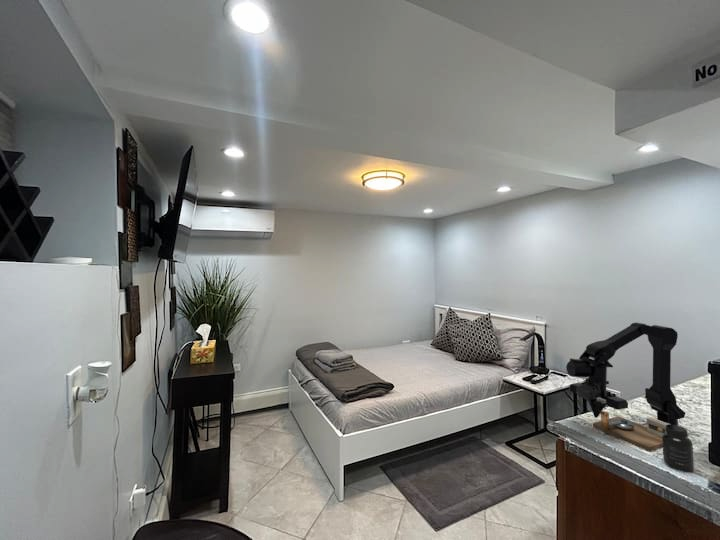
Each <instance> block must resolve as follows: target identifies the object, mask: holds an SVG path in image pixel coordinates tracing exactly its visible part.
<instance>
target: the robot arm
mask: <svg viewBox="0 0 720 540" xmlns="http://www.w3.org/2000/svg"><path fill="white" fill-rule="evenodd" d="M643 335H645V336H647V340H648V342H649V344H650V345H651V347H652V385H651V386H650V387H649V388H647V387H645V395H644V398H645V400H646V403H647V404H649V406H650V409H652V410H653V411H656V419H657V420H660V421H663V422H665V423H668V424H671V425H677V426H679V420H681V419H685V416H686V412H685V411H684V410H683V409H682V408H681V407H679V406H678V403H677V398H676V395H675V394H674V392H673V390H672V389H671V370H672V369H671V361H672V360H671V356H672V354H671V353H672V350H673V349H674V348H675V346H676V345H677V341H678V331H676V329H674V328H672V327H668V326H663V325H657V324H653V325H649V324H648V325H647V324H646V323H641V322H632V323H631V324H630V325H629V326H627V327H625V328H624V329H622V330H620V331H618V332H616V333H615V334H614V335H612V336H610V337H608V338H606V339H604V340H600V341H595V342H591V343H590V344H588V345H586V347H585V349H584V351H583V352H582V353H581V355H579V357H578V359H577V358H569V361H568V362H567V364H566V366H565V367H566V372H567V373H566V374H567V375H568V376H569V377H572V378H573V377H575V378H585V380H584V383H580V382H578V383H571V384H570V385H569V386H568V387H569V389H568V391H569V392H571V393H574V394H577V396H578V397H579V398H583V400H584V399H585V401H587V402H588V404H589V406H590V409H591V411H592V414H593V417H594V418H595V419H597V418H599V416H600V415H601V412H602V411H603V410H604V408H605V407H606V406H607V407H608V408H612V409H614V410H618V411H619V410H625V409H628V408H629V403H628V401H627V400H626V399H624V398H621V397H618V396H610V397H609V396H608V395H609V394H610V392H609V391H607V385H609V383H610V382H609V380H607V375H608V374H607V373H608V368H613V367H614V365H613V364H612V363H610V362H609V360H610V359H612V358H613V357H614V356H615V354H616V352H617V351H618V350H619V349H621V348H623V347H624V346H626V345H628V344H630V343H632V342H633V341H635V340H637V339H638V338H640V337H641V336H643Z"/></svg>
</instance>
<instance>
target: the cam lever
mask: <svg viewBox="0 0 720 540" xmlns="http://www.w3.org/2000/svg"><path fill="white" fill-rule="evenodd" d="M609 419H610V413H609V412H608V411H603V410H602V411H601V413H600V421H601V426H602V429H604V430H610V427H617V428H620V429H625V430H632V429H634V424H633V423H631V422H629V421H627V420H628V419H627V420H625V419H626V418H624V419H611V422H609Z"/></svg>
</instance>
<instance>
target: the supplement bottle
mask: <svg viewBox="0 0 720 540" xmlns="http://www.w3.org/2000/svg"><path fill="white" fill-rule="evenodd" d="M662 443H663V447H662V453H663V454H662V456H663V457H662V458H663V462H664V463H665V464H666V466H668V467H670V468H671V469H674V470H677V471H680V472H687V473H690V472H693V471H694V469H695V467H694V466H695V463H694V462H695V461H694V447H693V446H694V445H693V441H692V440H691V439H690V438H689V435H688V430H687V428H685V427H683V426H682V425H681V426H680V425H678V426H677V425H671V424H669V425H666V433H664V434H663V435H662Z"/></svg>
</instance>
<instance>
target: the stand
mask: <svg viewBox="0 0 720 540" xmlns="http://www.w3.org/2000/svg"><path fill="white" fill-rule="evenodd" d="M611 419H625V420H627V421H629V422H631V423H633V424H634V429H632V430H625V429H620V428H617V427H610V430H604V429H602V426H601V420H600V421H595V422H593V423H592V427H593V428H594V429H596V430H599V431H601V432H604V433H606V434H608V435H611V436H612V437H615V438H617V439H619V440H622V441H623V442H627V443H629V444H632V445H634V446H636V447H638V448H641V449H643V450H644V451H647V452H650V453H651V452H653V451H657V450H660V449H663V443H662V435H663V434H664V433H666V425H669V424H668V423H665V422H663V421H660V420H657V418H653V417H648V418H646V426H645V425H643V424H640V423H637V422H635V421H632V420H629V419H627V418H624V417H621V416H618V415H617V416H614V417H609V422H611Z"/></svg>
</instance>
